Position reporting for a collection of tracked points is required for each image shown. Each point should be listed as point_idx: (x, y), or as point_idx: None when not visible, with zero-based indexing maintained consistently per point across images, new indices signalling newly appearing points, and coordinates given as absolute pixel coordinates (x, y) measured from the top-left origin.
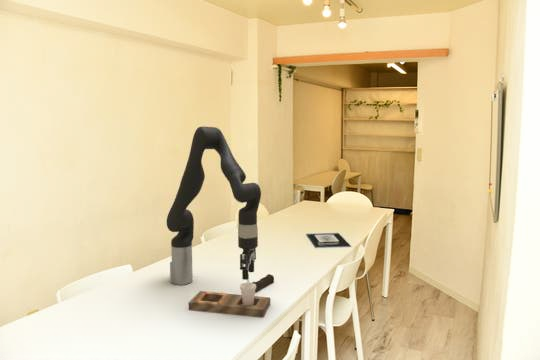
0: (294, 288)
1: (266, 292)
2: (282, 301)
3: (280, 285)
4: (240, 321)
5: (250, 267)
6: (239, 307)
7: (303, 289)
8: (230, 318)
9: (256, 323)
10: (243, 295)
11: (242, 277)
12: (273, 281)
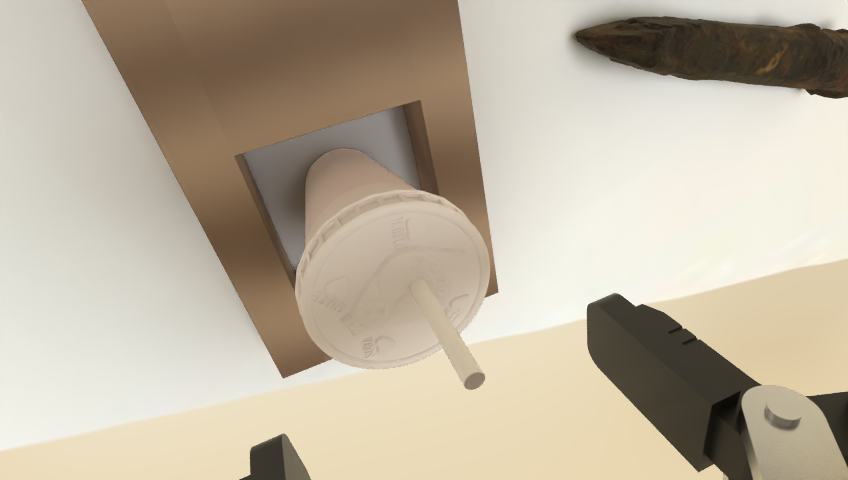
0: (720, 243)
1: (649, 134)
2: (542, 291)
3: (759, 152)
4: (106, 266)
5: (641, 371)
6: (199, 220)
7: (710, 286)
8: (86, 167)
9: (168, 362)
10: (305, 239)
11: (252, 467)
12: (809, 91)
